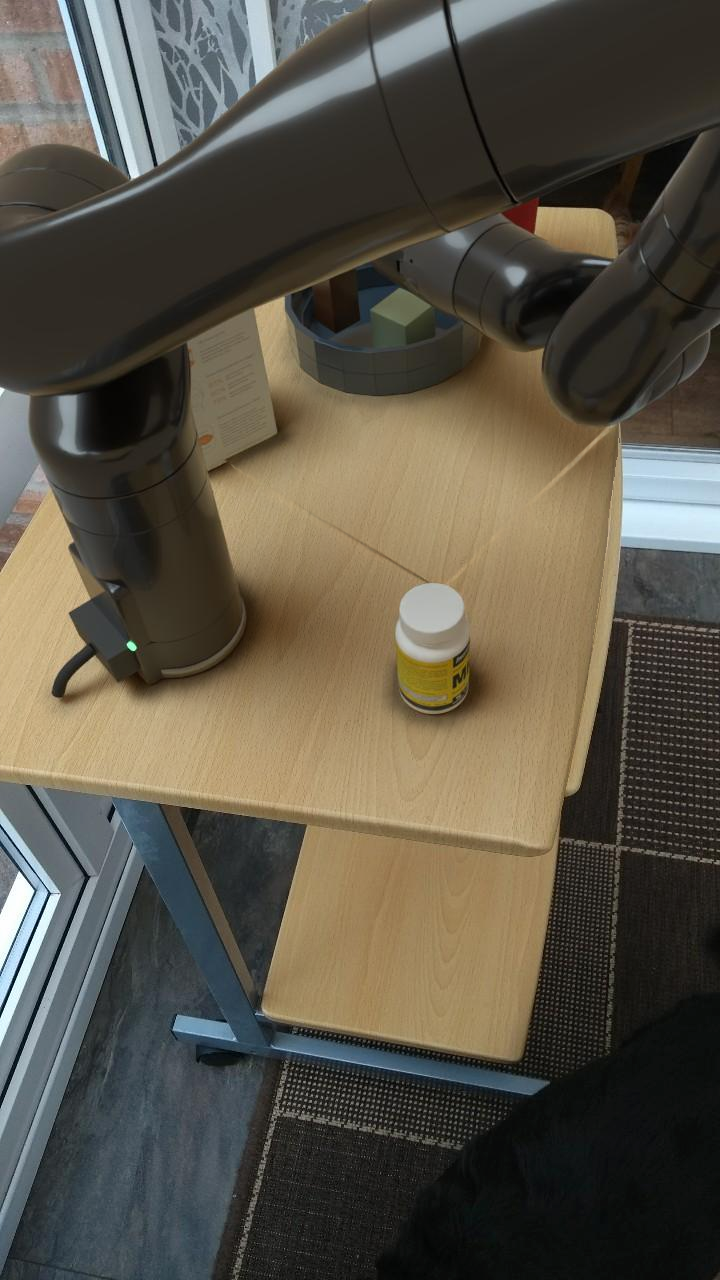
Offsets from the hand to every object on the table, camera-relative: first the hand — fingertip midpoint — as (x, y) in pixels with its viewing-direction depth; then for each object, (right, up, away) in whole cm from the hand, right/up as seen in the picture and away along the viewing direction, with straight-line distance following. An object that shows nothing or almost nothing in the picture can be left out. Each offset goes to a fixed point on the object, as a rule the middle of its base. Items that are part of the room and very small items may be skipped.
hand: (299, 163), depth 80 cm
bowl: (+7, -10, +12) cm, 17 cm away
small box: (-7, -21, +5) cm, 23 cm away
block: (+9, -11, +10) cm, 17 cm away
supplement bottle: (+10, -41, -12) cm, 43 cm away
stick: (+3, -10, +9) cm, 13 cm away
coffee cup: (+18, -3, +17) cm, 25 cm away
